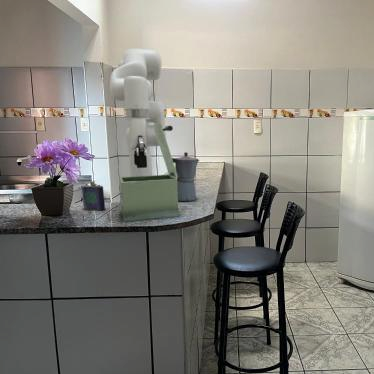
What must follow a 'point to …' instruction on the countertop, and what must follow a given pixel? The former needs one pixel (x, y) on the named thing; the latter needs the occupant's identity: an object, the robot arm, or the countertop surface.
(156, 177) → the box
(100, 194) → the flask
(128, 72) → the robot arm
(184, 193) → the moka pot
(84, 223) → the countertop surface
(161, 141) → the breadbox lid
